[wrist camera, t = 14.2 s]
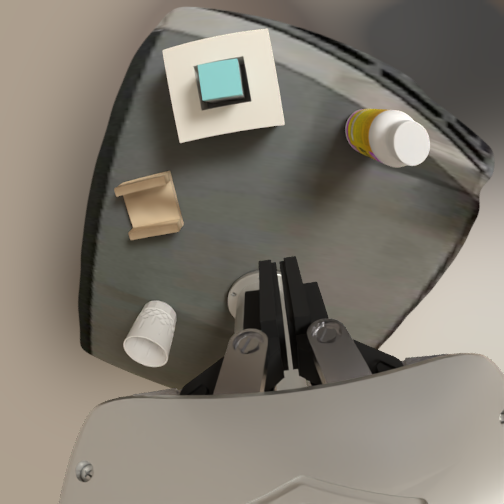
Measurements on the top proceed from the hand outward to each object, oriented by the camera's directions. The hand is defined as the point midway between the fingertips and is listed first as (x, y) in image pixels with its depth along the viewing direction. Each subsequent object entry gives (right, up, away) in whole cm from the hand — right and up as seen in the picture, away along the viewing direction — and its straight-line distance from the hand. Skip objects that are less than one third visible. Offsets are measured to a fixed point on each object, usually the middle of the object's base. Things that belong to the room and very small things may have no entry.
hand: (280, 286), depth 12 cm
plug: (-4, +22, +17) cm, 29 cm away
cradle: (-16, +9, +26) cm, 32 cm away
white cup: (-19, -10, +37) cm, 42 cm away
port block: (-5, +23, +18) cm, 30 cm away
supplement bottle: (+15, +18, +21) cm, 31 cm away
